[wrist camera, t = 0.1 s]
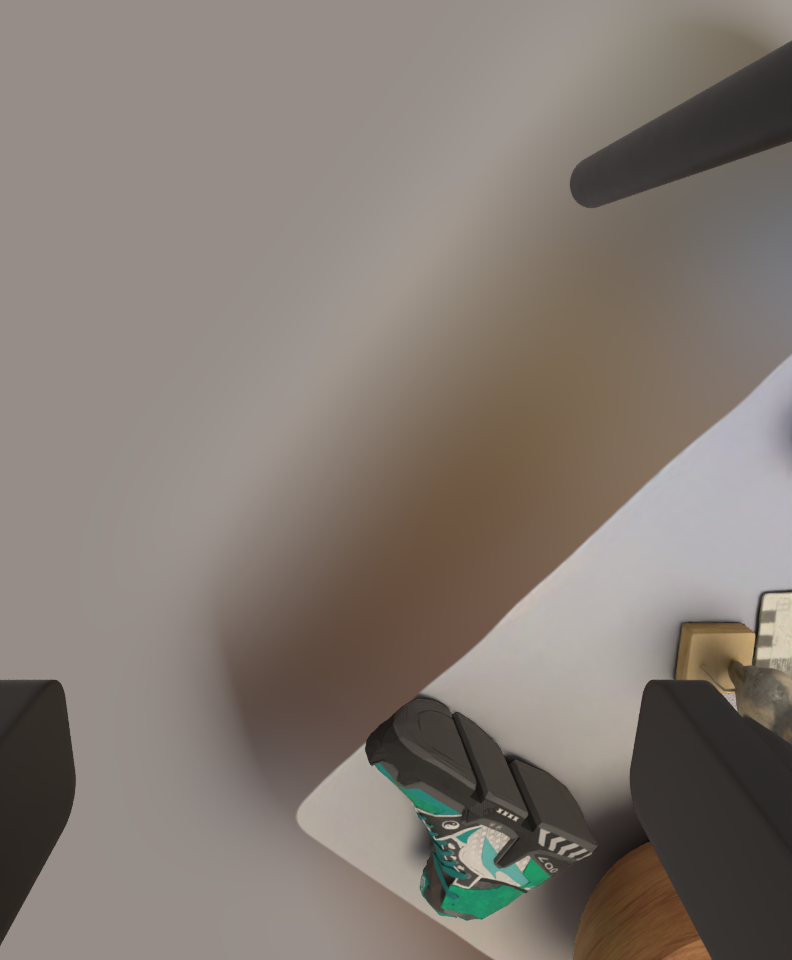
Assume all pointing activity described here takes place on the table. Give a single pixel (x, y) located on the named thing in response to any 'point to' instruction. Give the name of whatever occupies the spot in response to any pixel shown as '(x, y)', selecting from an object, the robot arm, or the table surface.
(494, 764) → the sneaker
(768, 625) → the figurine
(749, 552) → the table surface
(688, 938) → the bowl
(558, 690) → the table surface
